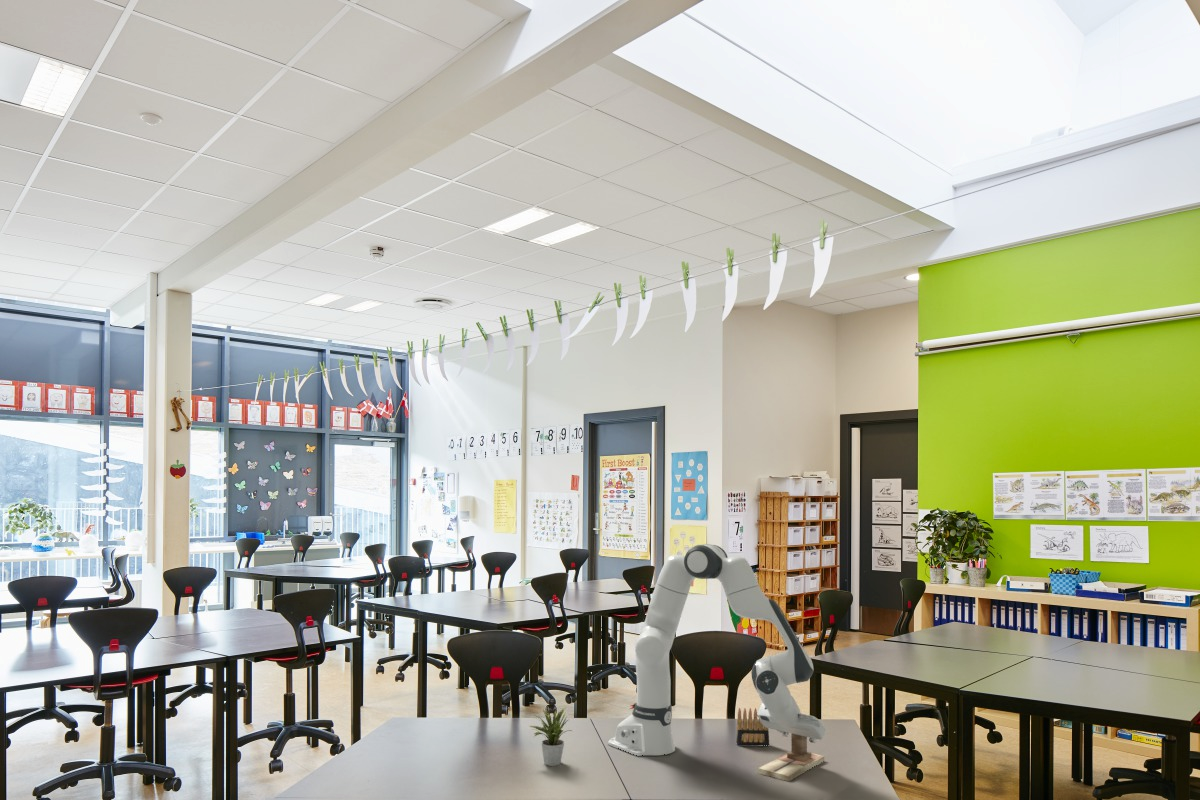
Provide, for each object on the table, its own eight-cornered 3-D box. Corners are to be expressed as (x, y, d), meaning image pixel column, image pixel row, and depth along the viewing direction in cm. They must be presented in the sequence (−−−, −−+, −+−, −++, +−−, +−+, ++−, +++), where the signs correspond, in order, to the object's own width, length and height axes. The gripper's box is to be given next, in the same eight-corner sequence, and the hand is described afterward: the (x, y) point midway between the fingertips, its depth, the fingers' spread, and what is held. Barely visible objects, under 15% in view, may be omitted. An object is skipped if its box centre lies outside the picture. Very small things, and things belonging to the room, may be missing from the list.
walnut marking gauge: (787, 757, 263) (786, 721, 264) (795, 753, 267) (795, 717, 268) (803, 761, 259) (803, 724, 260) (811, 757, 263) (811, 721, 264)
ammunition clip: (768, 744, 281) (768, 707, 282) (769, 746, 279) (769, 709, 280) (736, 744, 281) (736, 707, 282) (737, 745, 279) (737, 708, 281)
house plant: (541, 751, 270) (542, 699, 272) (581, 757, 266) (582, 704, 267) (522, 765, 257) (523, 710, 258) (564, 771, 252) (565, 715, 254)
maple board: (758, 773, 253) (758, 767, 253) (795, 754, 271) (795, 748, 272) (788, 781, 247) (788, 775, 247) (824, 761, 265) (824, 755, 265)
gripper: (819, 709, 253) (834, 735, 259) (759, 697, 266) (774, 722, 272) (813, 727, 249) (828, 754, 255) (752, 714, 262) (767, 740, 269)
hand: (799, 737), depth 264 cm, fingers open, 8 cm apart
